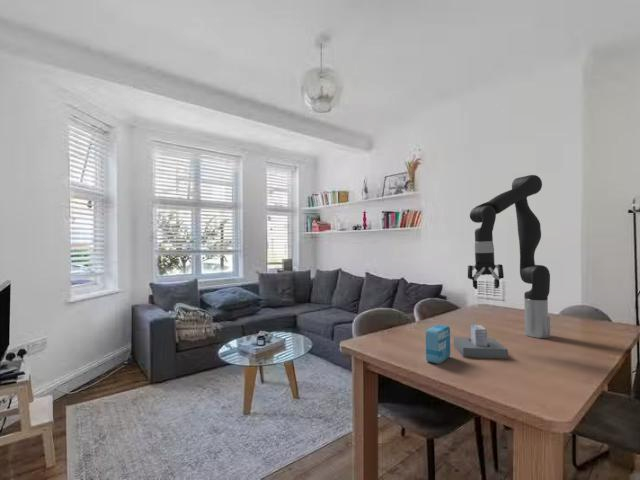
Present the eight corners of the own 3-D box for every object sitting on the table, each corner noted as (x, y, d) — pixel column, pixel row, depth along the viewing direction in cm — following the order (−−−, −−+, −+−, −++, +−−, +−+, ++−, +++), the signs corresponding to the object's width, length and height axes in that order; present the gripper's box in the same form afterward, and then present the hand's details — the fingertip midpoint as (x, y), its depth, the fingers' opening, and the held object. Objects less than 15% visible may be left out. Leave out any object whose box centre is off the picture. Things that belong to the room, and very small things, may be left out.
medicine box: (487, 351, 131) (487, 329, 131) (475, 351, 131) (475, 329, 131) (481, 345, 138) (481, 324, 138) (470, 345, 139) (470, 324, 139)
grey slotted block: (493, 346, 141) (493, 338, 141) (507, 358, 126) (507, 349, 126) (453, 345, 143) (453, 337, 143) (463, 356, 129) (463, 347, 129)
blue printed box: (437, 365, 120) (437, 331, 120) (425, 362, 123) (425, 329, 123) (450, 356, 129) (450, 325, 129) (439, 354, 132) (438, 323, 132)
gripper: (497, 250, 150) (499, 286, 150) (464, 252, 151) (466, 287, 151) (505, 251, 142) (506, 289, 142) (470, 252, 144) (471, 290, 144)
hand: (486, 288), depth 147 cm, fingers open, 8 cm apart
